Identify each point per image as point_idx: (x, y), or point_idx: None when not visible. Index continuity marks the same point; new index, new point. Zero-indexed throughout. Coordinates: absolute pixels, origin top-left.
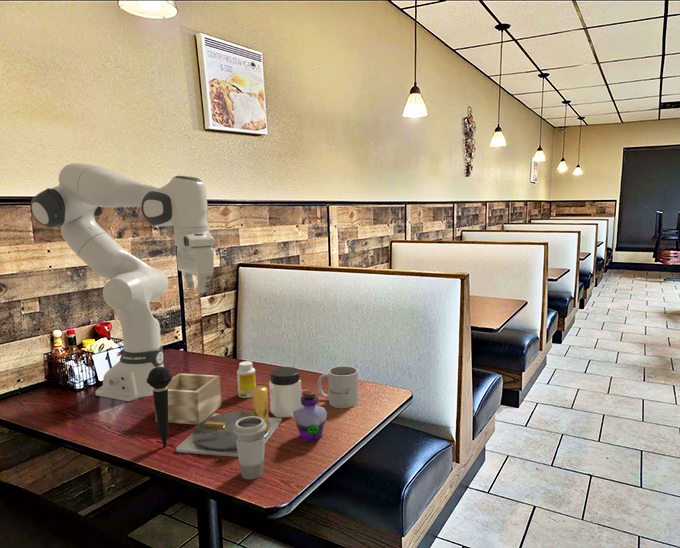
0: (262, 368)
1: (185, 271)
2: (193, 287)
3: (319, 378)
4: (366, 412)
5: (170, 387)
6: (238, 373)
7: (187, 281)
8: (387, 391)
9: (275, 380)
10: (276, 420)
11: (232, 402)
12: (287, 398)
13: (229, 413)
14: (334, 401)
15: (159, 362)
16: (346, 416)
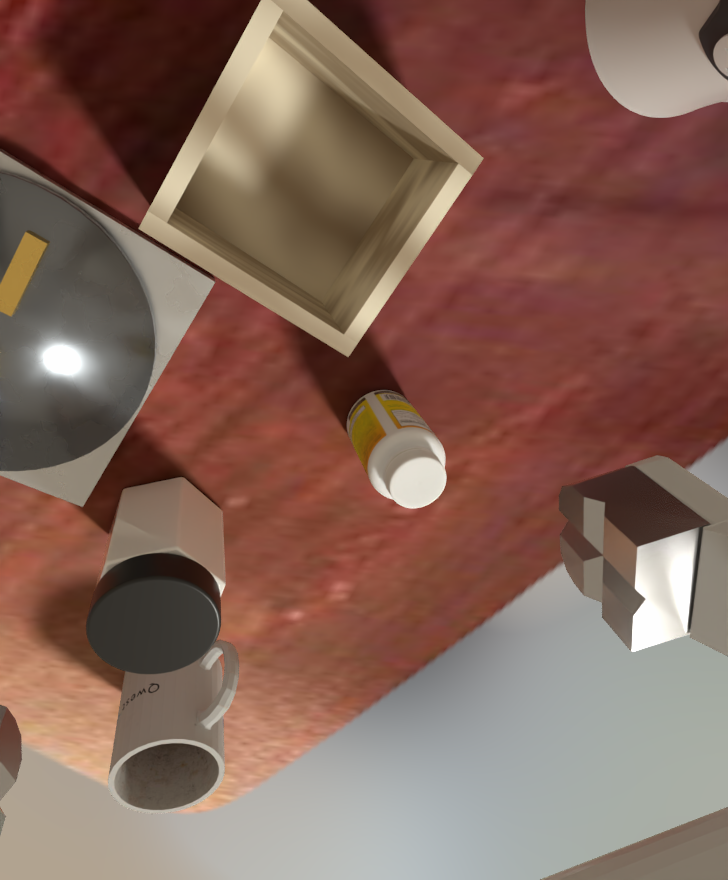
0: None
1: (701, 878)
2: (569, 564)
3: (222, 685)
4: (86, 718)
5: (368, 95)
6: (393, 433)
7: (714, 550)
8: (223, 779)
9: (109, 579)
10: (68, 489)
11: (333, 360)
12: (101, 566)
13: (143, 341)
14: None
15: (718, 58)
16: (72, 670)
